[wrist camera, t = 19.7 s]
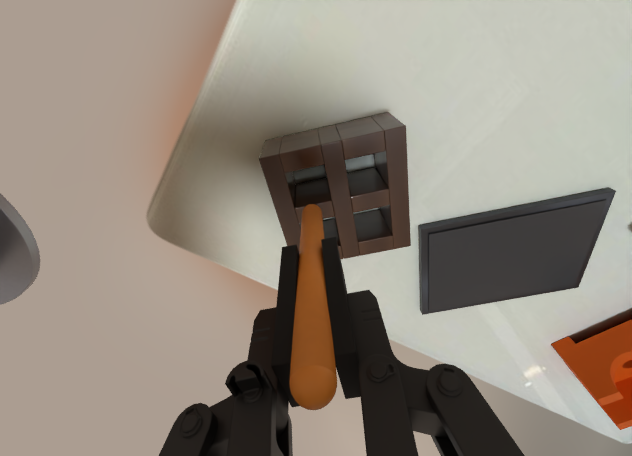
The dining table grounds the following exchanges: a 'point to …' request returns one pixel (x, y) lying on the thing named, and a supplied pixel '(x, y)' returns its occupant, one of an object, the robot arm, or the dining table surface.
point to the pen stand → (344, 183)
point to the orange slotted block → (604, 369)
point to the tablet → (509, 251)
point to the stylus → (312, 321)
